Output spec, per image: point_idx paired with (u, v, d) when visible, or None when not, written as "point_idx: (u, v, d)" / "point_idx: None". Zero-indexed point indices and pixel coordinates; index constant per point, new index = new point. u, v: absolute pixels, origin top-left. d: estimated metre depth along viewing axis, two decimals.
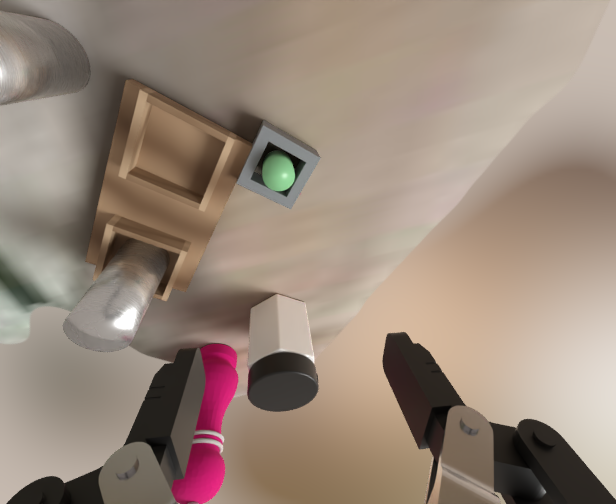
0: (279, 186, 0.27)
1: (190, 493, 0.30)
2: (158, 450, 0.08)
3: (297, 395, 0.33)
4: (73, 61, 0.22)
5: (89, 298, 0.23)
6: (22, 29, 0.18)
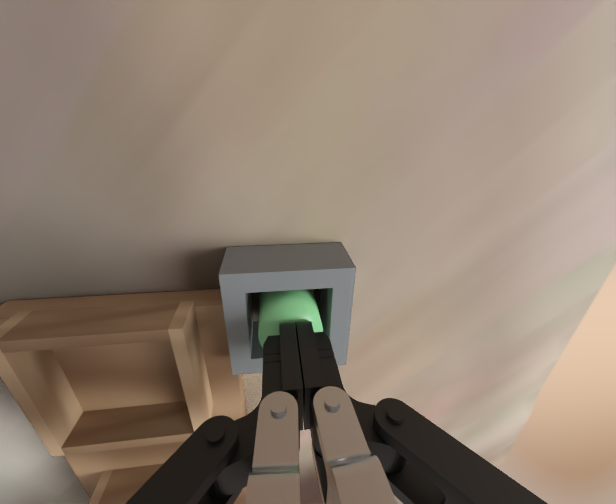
0: None
1: None
2: None
3: None
4: None
5: None
6: None
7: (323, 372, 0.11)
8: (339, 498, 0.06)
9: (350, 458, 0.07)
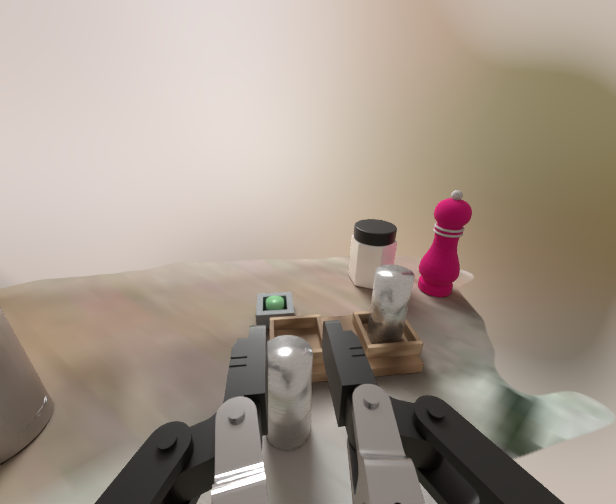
0: (280, 298, 0.48)
1: (450, 202, 0.49)
2: None
3: (371, 222, 0.57)
4: None
5: (384, 290, 0.37)
6: None
7: (356, 370, 0.11)
8: (367, 488, 0.07)
9: (383, 455, 0.07)
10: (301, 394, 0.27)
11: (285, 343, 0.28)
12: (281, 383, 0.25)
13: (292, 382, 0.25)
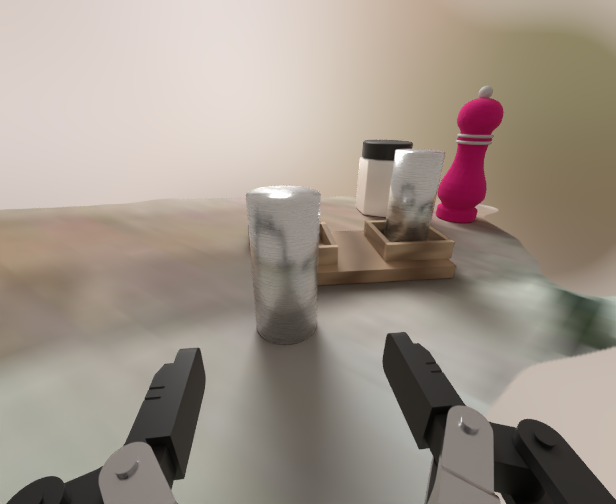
0: None
1: (477, 100, 0.41)
2: (158, 450, 0.08)
3: (382, 140, 0.49)
4: None
5: (407, 167, 0.29)
6: None
7: None
8: (438, 495, 0.06)
9: (467, 479, 0.07)
10: (305, 248, 0.19)
11: (282, 189, 0.20)
12: (276, 221, 0.18)
13: (292, 220, 0.18)
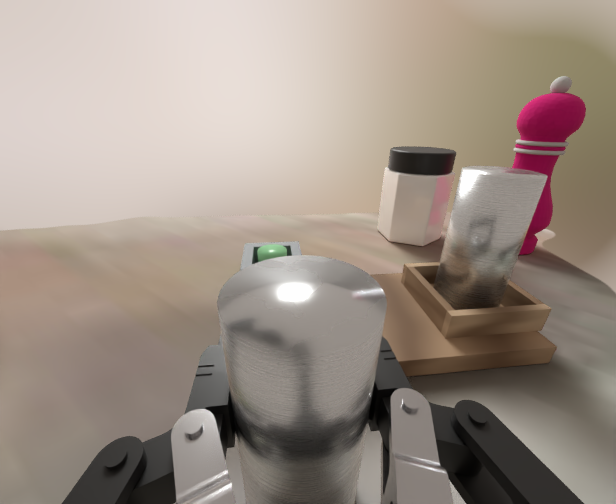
0: (280, 247, 0.30)
1: (551, 96, 0.31)
2: (216, 418, 0.09)
3: (414, 148, 0.39)
4: None
5: (487, 199, 0.19)
6: None
7: None
8: (396, 486, 0.07)
9: (416, 460, 0.07)
10: (353, 421, 0.08)
11: (297, 271, 0.10)
12: (290, 386, 0.07)
13: (329, 382, 0.07)
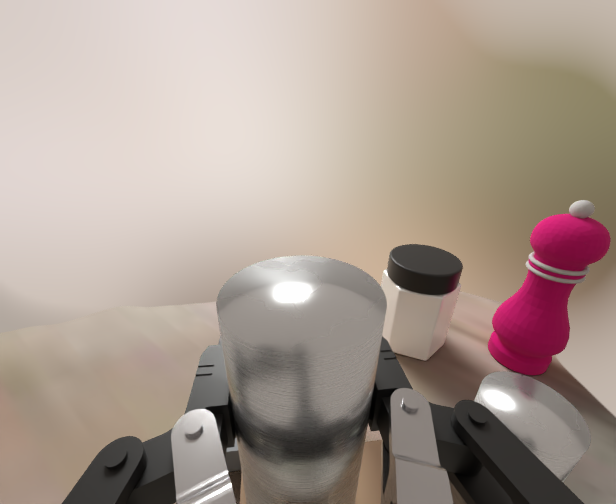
0: None
1: (571, 223, 0.27)
2: (216, 418, 0.09)
3: (416, 251, 0.35)
4: None
5: None
6: None
7: None
8: (396, 486, 0.07)
9: (416, 460, 0.07)
10: (353, 422, 0.08)
11: (296, 271, 0.10)
12: (289, 387, 0.07)
13: (328, 383, 0.07)
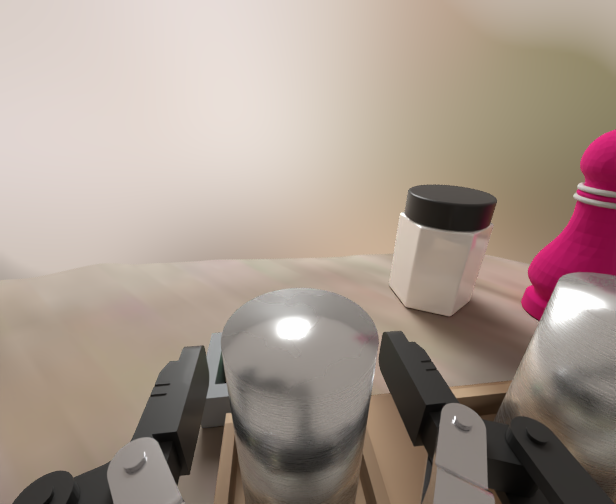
0: None
1: None
2: (165, 446, 0.08)
3: (439, 188, 0.30)
4: None
5: None
6: None
7: None
8: (433, 494, 0.06)
9: (461, 476, 0.07)
10: (348, 452, 0.09)
11: (295, 306, 0.10)
12: (288, 424, 0.08)
13: (324, 419, 0.08)
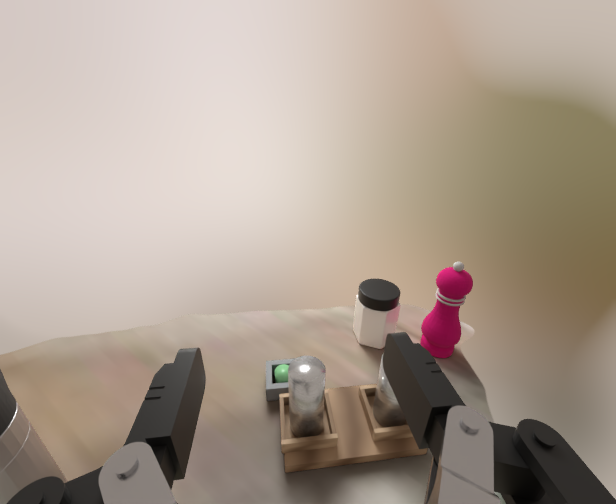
0: None
1: (451, 274, 0.51)
2: (158, 450, 0.08)
3: (375, 284, 0.59)
4: None
5: None
6: None
7: None
8: (438, 495, 0.06)
9: (467, 479, 0.07)
10: (317, 399, 0.38)
11: (305, 362, 0.39)
12: (304, 391, 0.36)
13: (311, 390, 0.36)
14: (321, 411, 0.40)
